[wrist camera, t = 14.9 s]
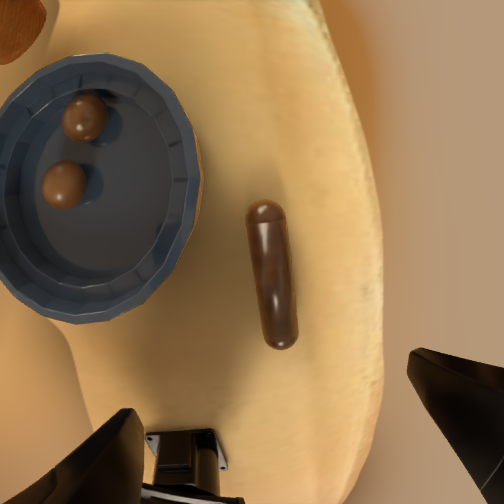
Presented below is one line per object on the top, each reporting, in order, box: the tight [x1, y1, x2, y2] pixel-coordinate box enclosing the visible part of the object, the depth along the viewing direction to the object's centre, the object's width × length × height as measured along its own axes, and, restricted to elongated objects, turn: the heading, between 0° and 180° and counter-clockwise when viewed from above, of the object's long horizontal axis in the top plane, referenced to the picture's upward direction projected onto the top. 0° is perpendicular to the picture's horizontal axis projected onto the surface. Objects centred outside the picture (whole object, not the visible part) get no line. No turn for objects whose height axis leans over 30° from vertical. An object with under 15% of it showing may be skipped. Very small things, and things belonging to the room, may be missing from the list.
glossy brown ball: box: [41, 160, 87, 210], centre depth 15 cm, size 3×3×3 cm
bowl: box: [0, 53, 204, 324], centre depth 15 cm, size 15×15×4 cm
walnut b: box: [62, 94, 109, 142], centre depth 14 cm, size 3×3×3 cm
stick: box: [246, 200, 299, 350], centre depth 19 cm, size 10×2×2 cm
